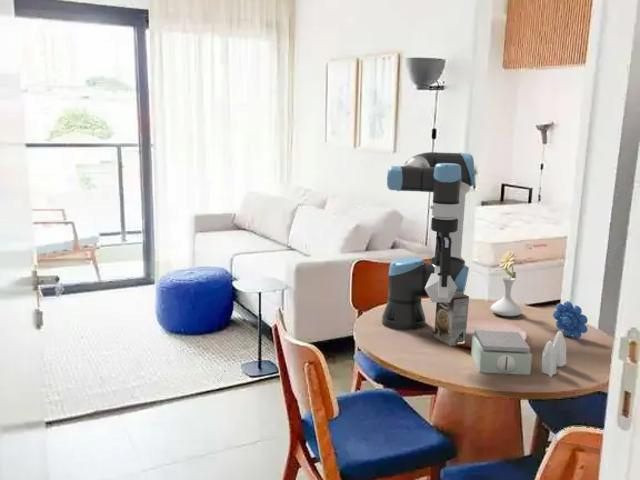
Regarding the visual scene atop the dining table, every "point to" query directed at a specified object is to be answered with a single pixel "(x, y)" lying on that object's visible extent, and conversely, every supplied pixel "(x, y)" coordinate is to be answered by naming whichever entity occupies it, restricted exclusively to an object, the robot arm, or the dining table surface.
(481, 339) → the pan
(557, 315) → the grapes
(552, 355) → the salt and pepper shakers
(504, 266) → the flower in vase
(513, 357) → the block
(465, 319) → the coffee box
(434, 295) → the die
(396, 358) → the dining table surface
